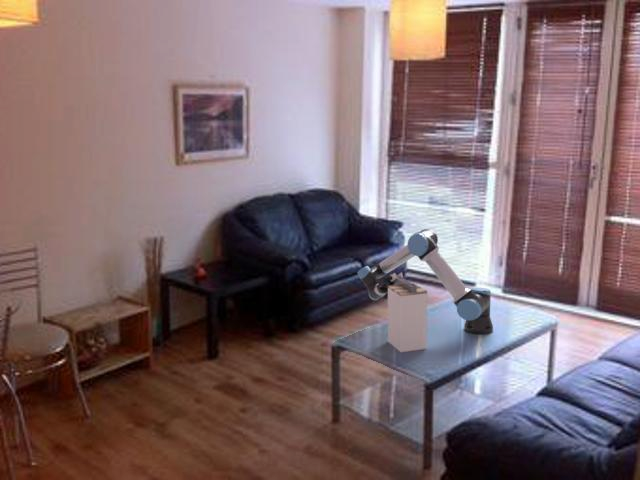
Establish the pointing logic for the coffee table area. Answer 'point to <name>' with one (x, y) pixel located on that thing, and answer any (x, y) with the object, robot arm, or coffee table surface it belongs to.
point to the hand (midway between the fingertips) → (398, 275)
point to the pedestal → (407, 318)
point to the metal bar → (405, 284)
